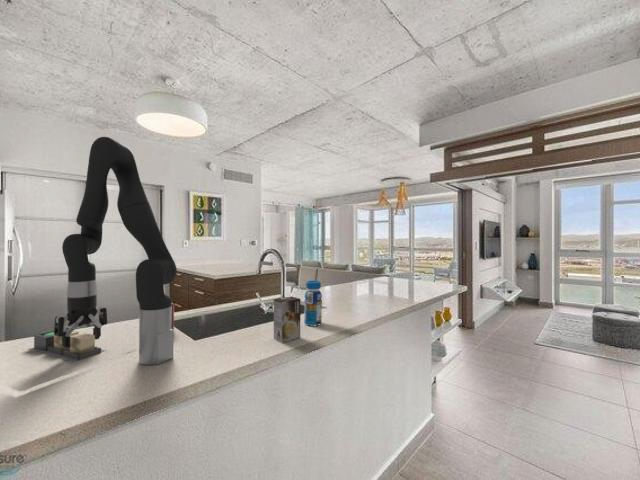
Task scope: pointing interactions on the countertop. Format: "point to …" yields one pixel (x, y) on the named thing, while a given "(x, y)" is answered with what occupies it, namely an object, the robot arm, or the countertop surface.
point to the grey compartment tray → (47, 347)
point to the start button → (49, 334)
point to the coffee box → (286, 319)
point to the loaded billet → (59, 341)
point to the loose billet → (82, 343)
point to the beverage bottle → (313, 303)
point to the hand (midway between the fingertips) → (82, 343)
